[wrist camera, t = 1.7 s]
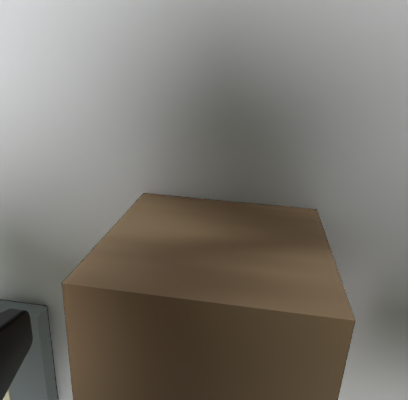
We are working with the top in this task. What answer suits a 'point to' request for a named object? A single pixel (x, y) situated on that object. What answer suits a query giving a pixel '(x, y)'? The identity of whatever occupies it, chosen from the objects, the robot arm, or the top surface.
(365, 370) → the top surface
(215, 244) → the walnut cube
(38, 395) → the slate pad
